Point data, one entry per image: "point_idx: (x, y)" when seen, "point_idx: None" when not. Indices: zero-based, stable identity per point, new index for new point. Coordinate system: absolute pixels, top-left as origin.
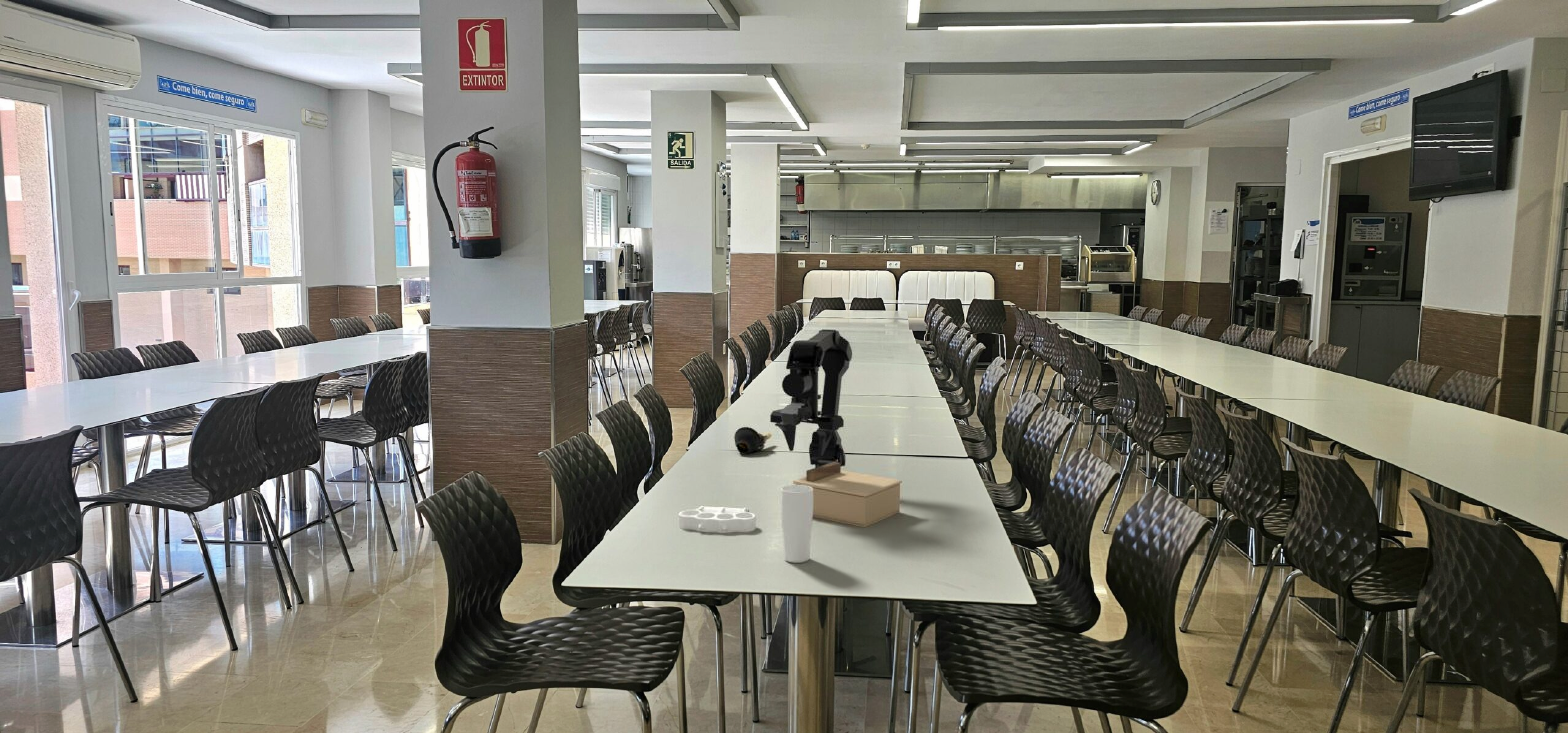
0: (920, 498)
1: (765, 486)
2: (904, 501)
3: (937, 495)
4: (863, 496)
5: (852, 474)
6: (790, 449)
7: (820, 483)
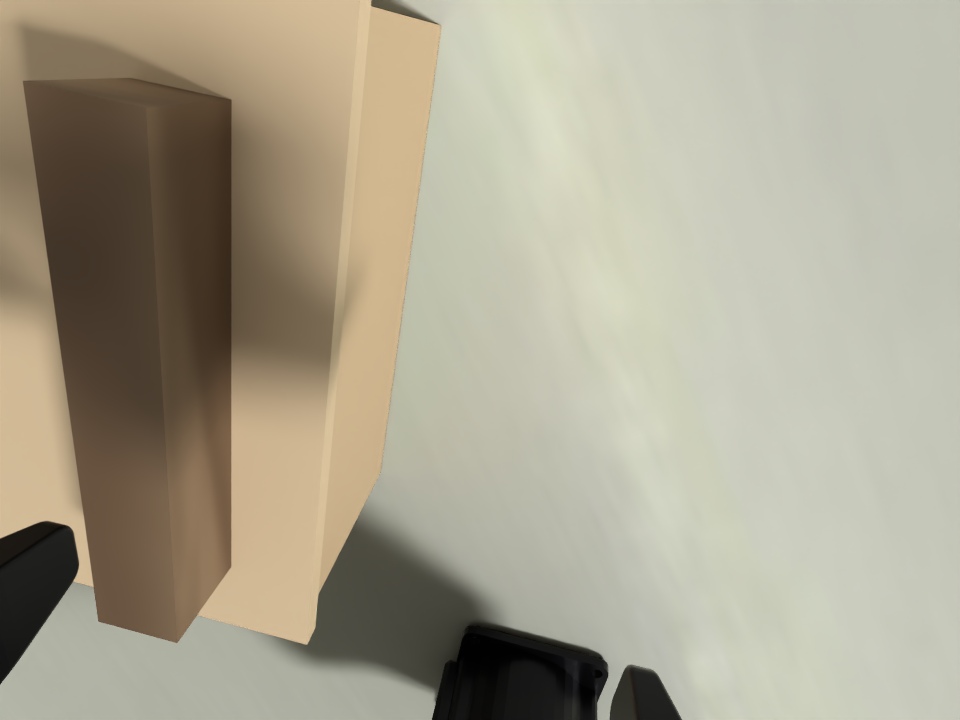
0: None
1: (927, 614)
2: None
3: None
4: None
5: None
6: (637, 684)
7: (14, 38)
